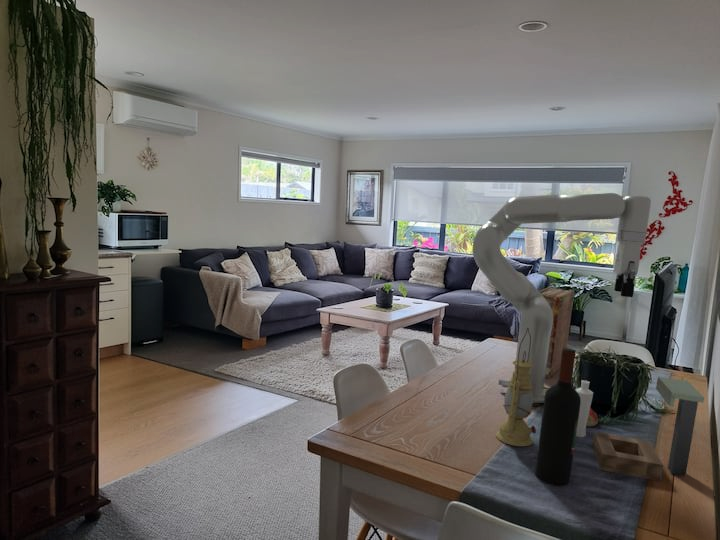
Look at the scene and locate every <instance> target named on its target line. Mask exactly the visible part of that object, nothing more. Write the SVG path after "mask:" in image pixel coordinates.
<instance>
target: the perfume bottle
mask: <svg viewBox="0 0 720 540" xmlns="http://www.w3.org/2000/svg"><path fill="white" fill-rule="evenodd" d="M580 383H581V384H580V385H581V386H580V387H575V388H574V389H575V390H576V391H577V393H578V394H579V396H580V399H581V404H580V411H579V418H578V426H577V433H576V437H580V438H584V437H585V436H587V433H586V429H587V426H586V424H587V420H588V415H589V411H590V408H591V405H592V402H593V397H594V396H593V395H594V392H593V391H592V390H590V389H589V387H590V381H588V380H582V379H581V382H580Z"/></svg>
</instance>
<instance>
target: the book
mask: <svg viewBox="0 0 720 540" xmlns="http://www.w3.org/2000/svg"><path fill="white" fill-rule="evenodd" d="M538 291H539V292H540V293H541V294H542V296H543V297H544V298H545V299H546V300H547V302H548V303H549V305H550V307H551V309H552V312H553V325H552V330H551V335H550V342H549V349H548V358H547V365H546V373H545V379H551V378H552V377H553V376H554V375H555V374H557V372H558V371H560V364H561V357H562V356H561V354H562V349H563V348H568V343H569V342H568V341H569V334H570V326H571V320H572V312H573V305H574V304H573V303H574V297H575V289H572V290H569V289H568V290H566V289H560V288H553V287H552V286H548V287H546V288H543V289H541V290H538Z"/></svg>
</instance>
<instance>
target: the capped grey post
mask: <svg viewBox="0 0 720 540" xmlns="http://www.w3.org/2000/svg"><path fill="white" fill-rule="evenodd" d="M655 386H656V387H655V389H656V391H657V392H658V393H659V394H660V396H661V397H662V398H663V400H664V401H665V402H666V403H667V405H668V406H669V407H674V406H675V401H676V399H677V400H678V403H677V411H676V416H675V422H674V428H673V434H672V439H671V440H672V441H671V447H670V453H669V458H668V465H667V469H668V471H669V473H670V474H671V475H675V476H680V477H681V476H682V477H686V475H687V469H688V464H689V458H690V452H691V447H692V446H691V445H692V441H693V434H694V428H695V422H696V415H697V410H698V405H699V403H704V402H705V397H704V396H703V394H701V393H700V392H699V390H697V389H696V387H694V386H693V385H692V384H691V382H689V381H688V380H685V379H677V378H670V377H662V376H657V380H656V385H655Z"/></svg>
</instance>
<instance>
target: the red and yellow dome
mask: <svg viewBox="0 0 720 540" xmlns="http://www.w3.org/2000/svg"><path fill="white" fill-rule="evenodd" d="M598 418H599V417H598V416H597V414H596V412H595V411H594V410H593V409H592V408H591V407H590V411H589V415H588V420H587V424H586V427H587V426H588V427H589V428H590V427H595V426H596V425H597V424H598V423H599V419H598Z"/></svg>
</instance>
